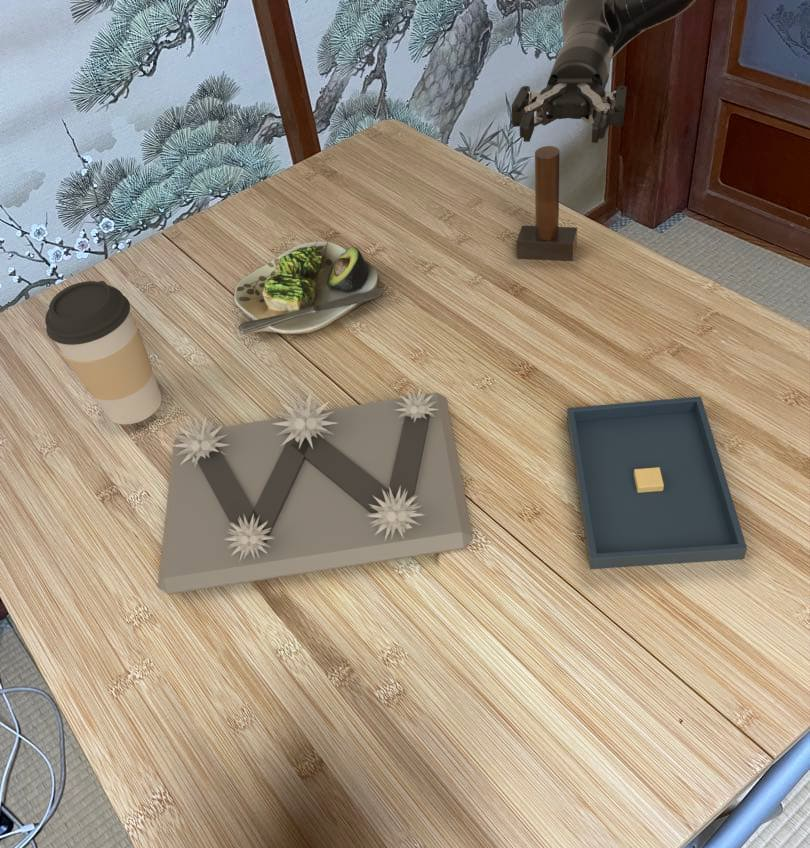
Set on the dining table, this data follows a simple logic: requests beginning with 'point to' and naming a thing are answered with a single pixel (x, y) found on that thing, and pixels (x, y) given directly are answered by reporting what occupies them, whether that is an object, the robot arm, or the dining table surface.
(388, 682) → the dining table surface
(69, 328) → the coffee cup
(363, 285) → the avocado toast plate
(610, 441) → the tray
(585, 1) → the robot arm
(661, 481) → the crumb
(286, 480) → the constellation board
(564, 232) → the wooden peg on stand
